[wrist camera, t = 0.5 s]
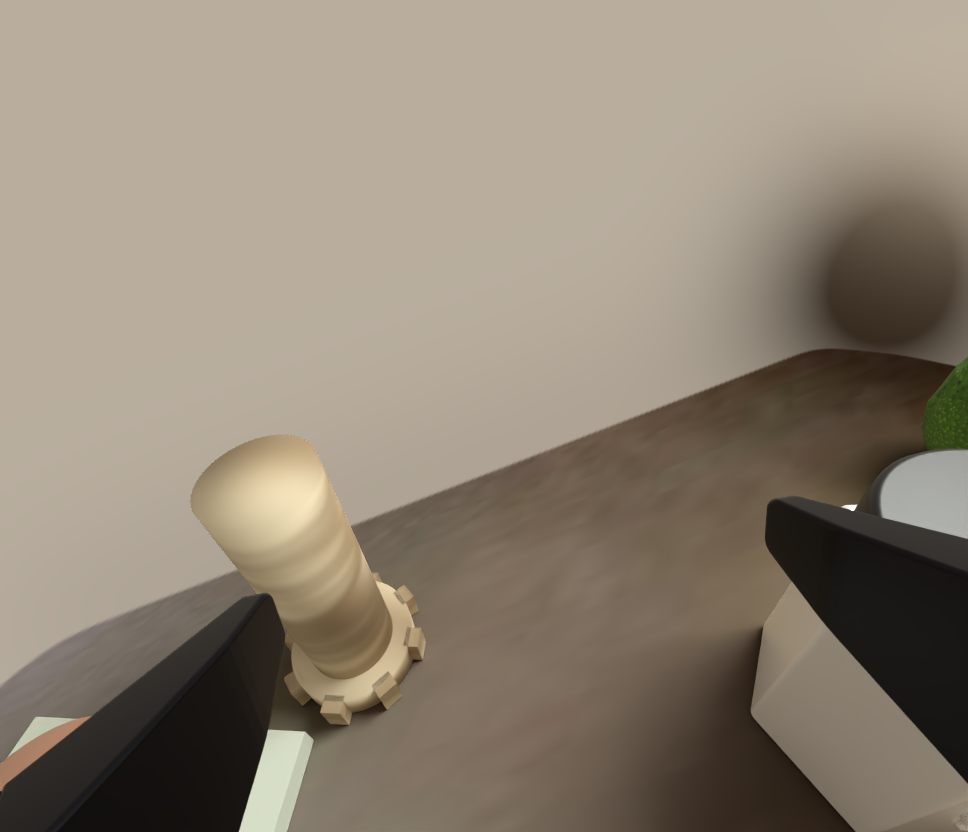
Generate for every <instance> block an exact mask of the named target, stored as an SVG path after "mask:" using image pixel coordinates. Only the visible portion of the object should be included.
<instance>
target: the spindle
mask: <svg viewBox="0 0 968 832" xmlns="http://www.w3.org/2000/svg"><path fill="white" fill-rule="evenodd" d="M191 508H192V511H193V513H194V514H195V516H196V517H197V519H198V520H199V521H200V522H201V524H202V525H203V526H204V527H205V529H206V530H207V531H208V532H209V534H210V535H211V536H212V537H213V539H214V540H215V541H216V542H217V544H218V545H219V546H220V547H221V549H222V550H223V551H224V552H225V554H226V555H227V556H228V557H229V559H230V560H231V561H232V562H233V564H234V565H235V566H236V568H237V569H238V570H239V571H240V573H241V574H242V575H243V576H244V578H245V579H246V580H247V581H248V583H249V584H250V585H251V586H252V588H253V589H254V590H255V591H256V593H257V594H260V593H268V594H270V595H271V596H272V598H273V600H274V602H275V605H276V608H277V611H278V614H279V616H280V619H281V622H282V625H283V627H284V628H285V629H286V630H287V635H286V637H285V645H286V646H287V647H288V648H289V649H290V651H291V652H292V653H291V660H292V667H293V671H292V672H291V673H289V674H288V675H287V676H286V677H284V678H283V679H284V681H285V683H286V685H287V687H288V689H289V691H290V693H291V695H292V696H293V697H294V698H295V699H296V700H297V701H298V702H299V703H300V704H301V705H302V706H303V705H304V704H305V703H307V702H308V701H309V700H310V699H311V698H312V699H313V700H314V701H315V702H316V703H317V704H319V705H320V706H321V707H322V708H321V711H320V713H321V714H322V715H323V716H324V718H325V719H326V720H327V721H328V722H329V723H330V724H341V725H350V721H351V717H352V713H354V712H359V711H362V710H365V709H368V708H370V707H373V706H375V705H376V704H378V703H380V702H381V701H382V703H383V705H384V706H385V708H386V709H387V710H388V709H389V708H390V707H391V706H392V705H393V704H394V703H395V702H396V701H398V700H399V699H400V698H401V697H402V696H403V694H402V692H401V690H400V688H399V687H398V686H399V685H400V683H401V682H402V681H403V679H404V678H405V676H406V675H407V673H408V671H409V669H410V667H411V664H412V662H413V660H423V656H424V650H425V644H426V640H425V638H424V635H423V633H422V630H421V628H415V625H414V622H413V619H412V617H411V616H413V615H414V614H415V613H416V612H417V611H419V610H418V608H417V605H416V602H415V599H414V597H413V595H412V594H411V593H410V592H409V590H408V589H407V588H406V587H405V586H404V585H403V586H402V587H400V588H399V589H398V590H397V591H396V590H395V589H393V588H392V587H390V586H388V585H386V584H384V583H382V582H381V579H380V577H379V575H378V573H371V571H370V568H369V566H368V564H367V562H366V560H365V557H364V555H363V553H362V551H361V549H360V546H359V544H358V542H357V540H356V538H355V535H354V533H353V531H352V529H351V527H350V524H349V522H348V520H347V518H346V516H345V513H344V511H343V509H342V507H341V505H340V503H339V500H338V498H337V496H336V494H335V491H334V489H333V487H332V485H331V483H330V480H329V478H328V476H327V474H326V472H325V469H324V467H323V465H322V463H321V461H320V458H319V456H318V454H317V452H316V450H315V448H314V447H313V446H312V445H311V444H310V443H309V442H308V441H306V440H305V439H302V438H300V437H296V436H291V435H273V436H266V437H262V438H258V439H255V440H252V441H249V442H246V443H244V444H241V445H239V446H237V447H235V448H234V449H232V450H230V451H228V452H227V453H225V454H224V455H222V456H221V457H219V458H218V459H217V460H215V461H214V462H213V463H212V464H211V465H210V466H209V467H208V468H207V469H206V470H205V471H204V472H203V473H202V475H201V476H200V477H199V479H198V480H197V482H196V484H195V486H194V488H193V491H192V494H191Z"/></svg>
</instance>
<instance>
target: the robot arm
mask: <svg viewBox="0 0 968 832" xmlns="http://www.w3.org/2000/svg"><path fill="white" fill-rule="evenodd" d="M765 542H766V545H767V548H768V550H769V552H770V553H771V554H772V556H773V557H774V558H775V560H776V561H777V562H778V564H779V565H780V566H781V568H782V569H783V570H784V572H785V573H786V574H787V576H788V577H789V578H790V580H791V581H792V582H793V584H794V585H795V586H796V588H797V589H798V590H799V592H800V593H801V594H802V596H803V597H804V598H805V600H806V601H807V602H808V604H809V605H810V606H811V608H812V609H813V610H814V612H815V613H816V614H817V615H818V617H819V618H820V619H821V620H822V622H823V623H824V624H825V625H826V627H827V628H828V629H829V630H830V631H831V632H832V634H833V635H834V636H835V637H836V638H837V639H838V640H839V642H840V643H841V644H842V645H843V646H844V647H845V648H846V649H847V650H848V652H849V653H850V654H851V655H852V656H853V657H854V658H855V659H856V660H857V662H858V663H859V664H860V665H861V666H862V667H863V668H864V669H865V670H866V672H867V673H868V674H869V675H870V676H871V677H872V678H873V679H874V680H875V682H876V683H877V684H878V685H879V686H880V687H881V688H882V689H883V690H884V691H885V693H886V694H887V695H888V696H889V697H890V698H891V699H892V700H893V701H894V703H895V704H896V705H897V706H898V707H899V708H900V709H901V710H902V711H903V713H904V714H905V715H906V716H907V717H908V718H909V719H910V720H911V721H912V723H913V724H914V725H915V726H916V727H917V728H918V729H919V730H920V731H921V733H922V734H923V735H924V736H925V737H926V738H927V739H928V740H929V741H930V743H931V744H932V745H933V746H934V747H935V748H936V749H937V750H938V751H939V753H940V754H941V755H942V756H943V757H944V758H945V759H946V760H947V761H948V763H949V764H950V765H951V766H952V767H953V768H954V769H955V770H956V771H957V773H958V774H959V775H960V776H961V777H962V778H963V779H964V780H965V781H966V783H967V784H968V539H967V538H963V537H959V536H955V535H951V534H947V533H943V532H939V531H934V530H930V529H926V528H922V527H918V526H914V525H910V524H906V523H902V522H898V521H894V520H890V519H886V518H882V517H878V516H874V515H870V514H866V513H862V512H858V511H854V510H850V509H846V508H842V507H838V506H834V505H830V504H826V503H822V502H818V501H814V500H810V499H806V498H802V497H798V496H787V497H782V498H776V499H772V500H771V501H770V502H769V503H768V505H767V515H766V529H765ZM284 645H285V632H284V628H283V625H282V622H281V619H280V616H279V614H278V611H277V608H276V605H275V602H274V600H273V598H272V596H271V595H270V594H268V593H260V594H254V595H249V596H245V597H242V598H241V599H240V600H238V601H237V602H236V603H235V604H233V605H232V606H231V607H230V608H228V609H227V610H226V611H224V612H223V613H222V614H221V615H219V616H218V617H217V618H216V619H214V620H213V621H212V622H210V623H209V624H208V625H207V626H205V627H204V628H203V629H202V630H200V631H199V632H198V633H197V634H195V635H194V636H193V637H191V638H190V639H189V640H188V641H186V642H185V643H184V644H183V645H181V646H180V647H179V648H177V649H176V650H175V651H174V652H172V653H171V654H170V655H169V656H167V657H166V658H165V659H163V660H162V661H161V662H160V663H158V664H157V665H156V666H155V667H153V668H152V669H151V670H150V671H148V672H147V673H146V674H144V675H143V676H142V677H141V678H139V679H138V680H137V681H136V682H134V683H133V684H132V685H130V686H129V687H128V688H127V689H125V690H124V691H123V692H122V693H120V694H119V695H118V696H117V697H115V698H114V699H113V700H111V701H110V702H109V703H108V704H106V705H105V706H104V707H103V708H101V709H100V710H99V711H97V712H96V713H95V714H94V715H92V716H91V717H90V718H89V719H87V720H86V721H85V722H83V723H82V724H81V725H80V726H78V727H77V728H76V729H75V730H73V731H72V732H71V733H70V734H68V735H67V736H66V737H64V738H63V739H62V740H61V741H59V742H58V743H57V744H56V745H54V746H53V747H52V748H50V749H49V750H48V751H47V752H45V753H44V754H43V755H42V756H40V757H39V758H38V759H37V760H35V761H34V762H33V763H31V764H30V765H29V766H28V767H26V768H25V769H24V770H23V771H21V772H20V773H19V774H17V775H16V776H15V777H14V778H12V779H11V780H10V781H9V782H7V783H6V784H5V785H4V787H3V789H2V791H0V832H239V830H240V827H241V823H242V820H243V816H244V813H245V810H246V806H247V803H248V800H249V796H250V793H251V789H252V786H253V783H254V779H255V776H256V773H257V769H258V766H259V762H260V759H261V756H262V752H263V748H264V745H265V741H266V737H267V733H268V728H269V724H270V719H271V714H272V708H273V703H274V698H275V693H276V687H277V682H278V677H279V672H280V666H281V661H282V656H283V651H284Z"/></svg>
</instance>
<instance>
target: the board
mask: <svg viewBox="0 0 968 832" xmlns="http://www.w3.org/2000/svg"><path fill="white" fill-rule="evenodd" d="M90 717H91V716H88V717H82V718H79V719H68V718H50V717H35V719H34V720H33V722H32V723H31V725H30V726H29V727H28V729H27V730H26V732H25V733H24V735H23V736H22V737H21V739H20V740H19V742H18V743H17V744H16V746H15V747H14V749H13V750H12V752H11V753H10V754H9V756H8V757H7V758H6V759H5V760H4V761H3V762H1V763H0V791H2V789H3V787H4V785H5V784H6V783H7V782H9V781H10V780H11V779H12V778H14V777H15V776H16V775H17V774H19V773H20V772H21V771H23V770H24V769H25V768H26V767H28V766H29V765H30V764H31V763H33V762H34V761H35V760H37V759H38V758H39V757H40V756H42V755H43V754H44V753H45V752H47V751H48V750H49V749H50V748H52V747H53V746H54V745H56V744H57V743H58V742H59V741H61V740H62V739H63V738H64V737H66V736H67V735H68V734H70V733H71V732H72V731H73V730H75V729H76V728H77V727H78V726H80V725H81V724H82V723H83V722H85V721H86V720H87V719H89V718H90ZM313 742H314V740H313V739H312V738H311V737H310V736H309V735H308V734H307V733H306V732H301V731H283V730H268V733H267V737H266V741H265V745H264V748H263V752H262V756H261V759H260V762H259V766H258V769H257V773H256V776H255V779H254V783H253V786H252V789H251V793H250V796H249V800H248V803H247V806H246V810H245V813H244V816H243V820H242V823H241V827H240V830H239V832H287V830H288V827H289V823H290V820H291V817H292V813H293V810H294V806H295V803H296V800H297V796H298V793H299V789H300V786H301V783H302V779H303V776H304V772H305V769H306V766H307V762H308V759H309V755H310V752H311V749H312V745H313Z"/></svg>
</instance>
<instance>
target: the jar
mask: <svg viewBox="0 0 968 832" xmlns="http://www.w3.org/2000/svg"><path fill="white" fill-rule="evenodd" d="M842 508H846V509H850V510H854V511H858V512H862V513H866V514H870V515H874V516H878V517H882V518H886V519H890V520H894V521H898V522H902V523H906V524H910V525H914V526H918V527H922V528H926V529H930V530H934V531H939V532H943V533H947V534H951V535H955V536H959V537H963V538H967V539H968V449H938V450H931V451H924V452H920V453H916V454H912V455H909V456H906V457H904V458H901V459H899V460H897V461H895V462H893V463H892V464H890V465H889V466H888V467H886V468H885V469H884V470H883V471H882V472H881V473H880V474H879V475H878V476H877V478H876V479H875V480H874V482H873V483H872V485H871V486H870V487H869V489H868V490H867V492H866V493H865V495H864V496H863V498H862V499H861V500H860V502H859V503H858V505H845V506H842ZM751 715H752V717H753V718H754V719H755V720H756V721H757V722H758V724H759V725H760V726H761V727H762V728H763V729H764V730H765V731H766V732H767V734H768V735H769V736H770V737H771V738H772V739H773V740H774V741H775V743H776V744H777V745H778V746H779V747H780V748H781V749H782V750H783V751H784V753H785V754H786V755H787V756H788V757H789V758H790V759H791V760H792V761H793V763H794V764H795V765H796V766H797V767H798V768H799V769H800V770H801V772H802V773H803V774H804V775H805V776H806V777H807V778H808V779H809V780H810V782H811V783H812V784H813V785H814V786H815V787H816V788H817V789H818V790H819V792H820V793H821V794H822V795H823V796H824V797H825V798H826V799H827V801H828V802H829V803H830V804H831V805H832V806H833V807H834V808H835V809H836V811H837V812H838V813H839V814H840V815H841V816H842V817H843V818H844V819H845V821H846V822H847V823H848V824H849V825H850V826H851V827H852V828H853V830H854V831H855V832H968V784H967V783H966V781H965V780H964V779H963V778H962V777H961V776H960V775H959V774H958V773H957V771H956V770H955V769H954V768H953V767H952V766H951V765H950V764H949V763H948V761H947V760H946V759H945V758H944V757H943V756H942V755H941V754H940V753H939V751H938V750H937V749H936V748H935V747H934V746H933V745H932V744H931V743H930V741H929V740H928V739H927V738H926V737H925V736H924V735H923V734H922V733H921V731H920V730H919V729H918V728H917V727H916V726H915V725H914V724H913V723H912V721H911V720H910V719H909V718H908V717H907V716H906V715H905V714H904V713H903V711H902V710H901V709H900V708H899V707H898V706H897V705H896V704H895V703H894V701H893V700H892V699H891V698H890V697H889V696H888V695H887V694H886V693H885V691H884V690H883V689H882V688H881V687H880V686H879V685H878V684H877V683H876V682H875V680H874V679H873V678H872V677H871V676H870V675H869V674H868V673H867V672H866V670H865V669H864V668H863V667H862V666H861V665H860V664H859V663H858V662H857V660H856V659H855V658H854V657H853V656H852V655H851V654H850V653H849V652H848V650H847V649H846V648H845V647H844V646H843V645H842V644H841V643H840V642H839V640H838V639H837V638H836V637H835V636H834V635H833V634H832V632H831V631H830V630H829V629H828V628H827V627H826V625H825V624H824V623H823V622H822V620H821V619H820V618H819V617H818V615H817V614H816V613H815V612H814V610H813V609H812V608H811V606H810V605H809V604H808V602H807V601H806V600H805V598H804V597H803V596H802V594H801V593H800V592H799V590H798V589H797V588H796V586H795V585H794V584H793V582H791V584H790V585H789V587H788V588H787V590H786V591H785V593H784V594H783V596H782V597H781V599H780V600H779V602H778V603H777V605H776V606H775V608H774V609H773V611H772V612H771V614H770V615H769V617H768V618H767V620H766V621H765V623H764V626H763V633H762V640H761V647H760V653H759V660H758V666H757V673H756V679H755V686H754V692H753V698H752V705H751Z"/></svg>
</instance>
